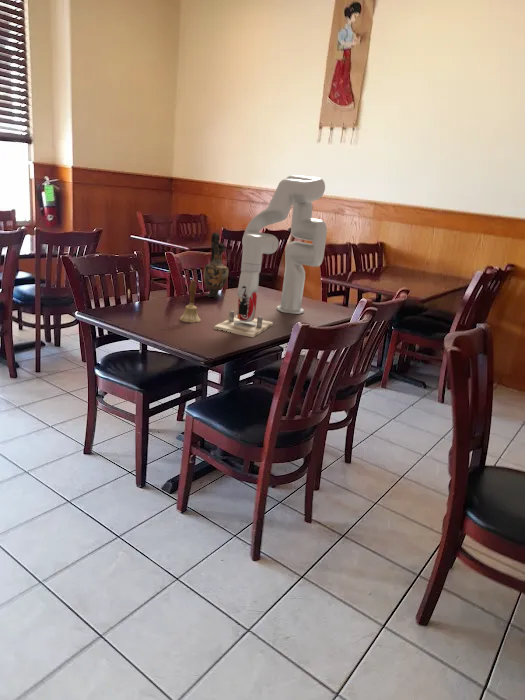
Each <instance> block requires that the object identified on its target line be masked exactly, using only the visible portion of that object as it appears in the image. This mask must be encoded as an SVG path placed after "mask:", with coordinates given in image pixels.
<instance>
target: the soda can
mask: <svg viewBox="0 0 525 700" xmlns="http://www.w3.org/2000/svg"><path fill="white" fill-rule="evenodd" d="M244 296H245V297H247V295H244ZM257 298H258V295H257V294H256V291H255V292H252V295H251V297H250V298H248V302H247V305H248V307H247V315H242V314H239V302H240V301H239V299H238V300H237V301H238V302H237V311H236V315H237V318H238V319H239V320H240V321H243V322H251V321H252V320H254V318H255V317H256V310H257ZM243 299H245V298H243ZM245 300H246V299H245ZM255 319H256V318H255Z"/></svg>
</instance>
